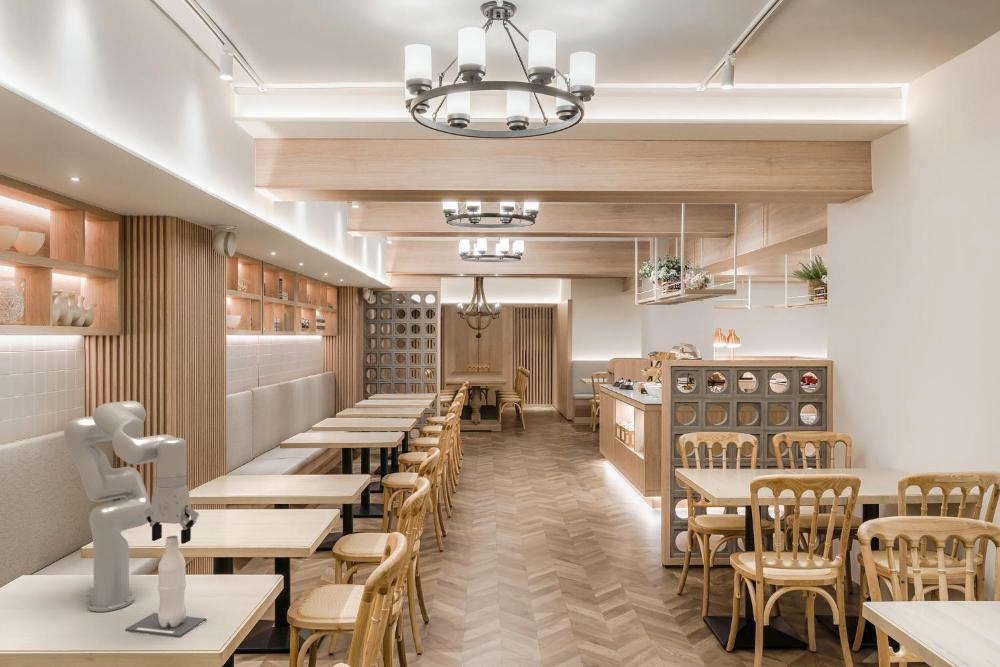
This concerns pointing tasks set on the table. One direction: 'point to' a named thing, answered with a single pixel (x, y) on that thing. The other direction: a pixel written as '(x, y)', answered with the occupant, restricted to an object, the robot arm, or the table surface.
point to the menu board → (154, 627)
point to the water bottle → (171, 585)
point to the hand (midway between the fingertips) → (171, 540)
